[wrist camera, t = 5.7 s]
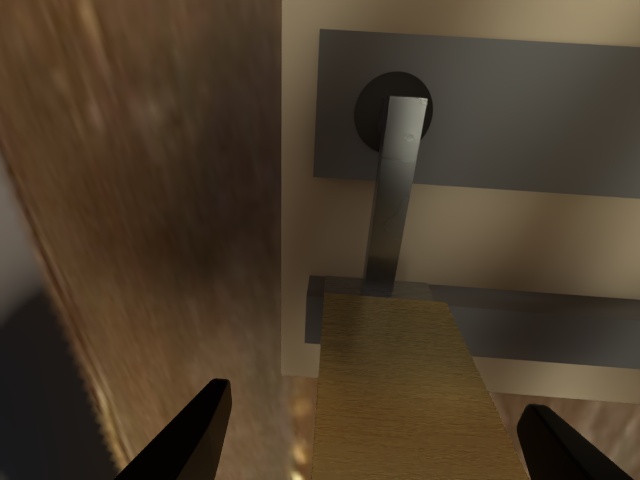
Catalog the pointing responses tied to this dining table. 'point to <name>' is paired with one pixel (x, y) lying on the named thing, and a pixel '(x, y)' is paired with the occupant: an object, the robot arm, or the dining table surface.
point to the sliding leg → (400, 354)
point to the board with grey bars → (475, 178)
